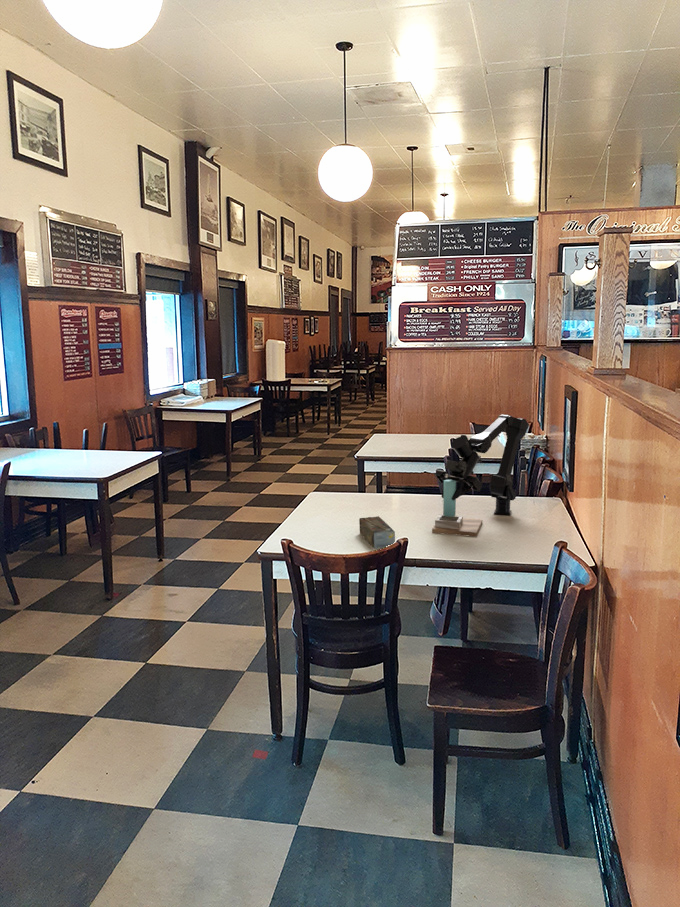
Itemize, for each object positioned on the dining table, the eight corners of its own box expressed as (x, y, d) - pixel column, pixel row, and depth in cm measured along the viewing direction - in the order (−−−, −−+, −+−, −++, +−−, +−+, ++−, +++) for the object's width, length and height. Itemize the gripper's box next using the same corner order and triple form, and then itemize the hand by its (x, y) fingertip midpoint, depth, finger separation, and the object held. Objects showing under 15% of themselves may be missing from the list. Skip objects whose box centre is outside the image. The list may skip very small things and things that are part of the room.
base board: (440, 520, 272) (440, 510, 271) (482, 523, 267) (482, 513, 266) (432, 532, 255) (432, 522, 254) (476, 536, 250) (476, 525, 249)
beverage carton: (373, 549, 237) (373, 530, 236) (358, 533, 255) (358, 516, 254) (395, 547, 238) (395, 529, 237) (379, 532, 257) (379, 514, 256)
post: (452, 513, 262) (453, 479, 259) (457, 516, 257) (457, 481, 255) (441, 514, 261) (442, 480, 259) (445, 517, 257) (446, 482, 254)
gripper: (438, 448, 265) (418, 481, 259) (478, 455, 251) (457, 490, 246) (450, 466, 271) (431, 498, 266) (490, 473, 257) (471, 507, 252)
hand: (447, 498), depth 257 cm, fingers closed on post, 4 cm apart
